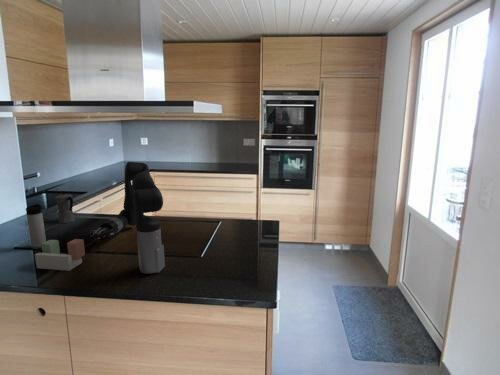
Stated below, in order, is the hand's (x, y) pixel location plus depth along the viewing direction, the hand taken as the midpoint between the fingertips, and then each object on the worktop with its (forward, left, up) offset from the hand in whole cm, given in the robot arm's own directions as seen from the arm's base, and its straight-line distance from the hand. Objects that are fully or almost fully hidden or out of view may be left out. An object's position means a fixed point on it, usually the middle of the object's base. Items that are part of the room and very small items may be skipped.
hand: (90, 239), depth 154 cm
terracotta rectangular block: (0, +10, -4) cm, 11 cm away
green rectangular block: (+10, +12, -4) cm, 16 cm away
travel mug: (+30, -3, -7) cm, 30 cm away
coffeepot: (+43, -40, -7) cm, 59 cm away
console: (+5, +13, -6) cm, 16 cm away
